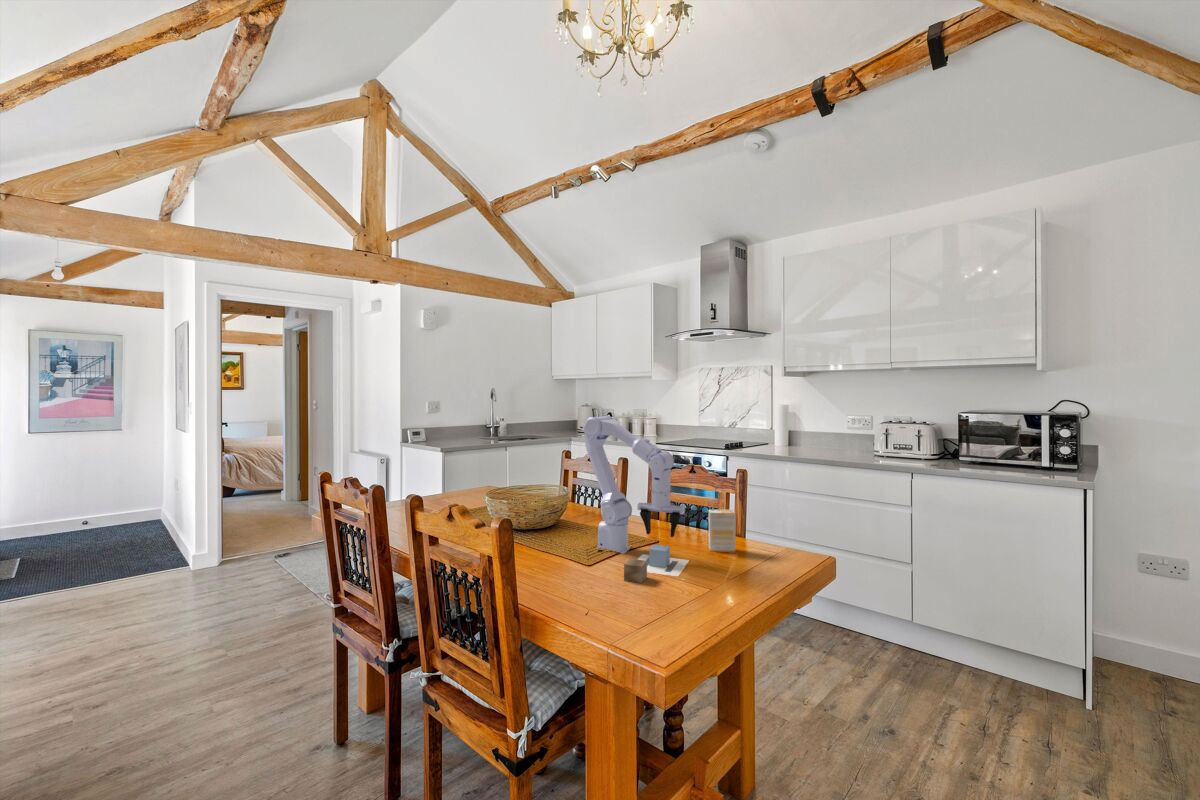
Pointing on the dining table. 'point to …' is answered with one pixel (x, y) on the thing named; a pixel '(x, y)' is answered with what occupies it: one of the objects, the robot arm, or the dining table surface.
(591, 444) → the robot arm
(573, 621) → the dining table surface
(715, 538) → the supplement box
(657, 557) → the slate blue cube
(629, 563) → the walnut block
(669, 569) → the letter board
